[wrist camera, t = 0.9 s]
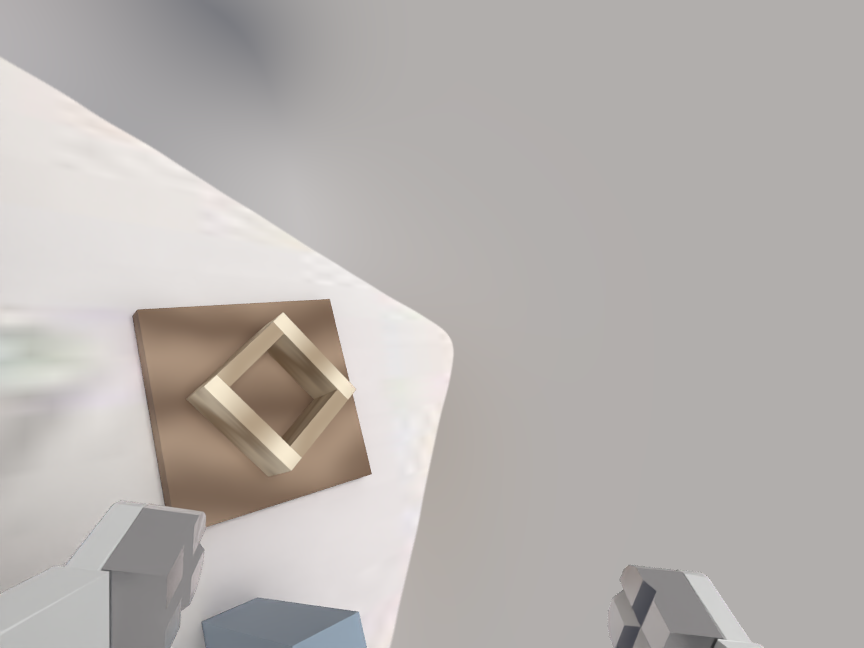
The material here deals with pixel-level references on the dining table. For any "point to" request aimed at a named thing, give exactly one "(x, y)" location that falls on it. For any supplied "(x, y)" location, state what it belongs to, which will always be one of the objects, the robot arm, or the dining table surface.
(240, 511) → the socket board
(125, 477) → the dining table surface
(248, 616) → the slate peg
